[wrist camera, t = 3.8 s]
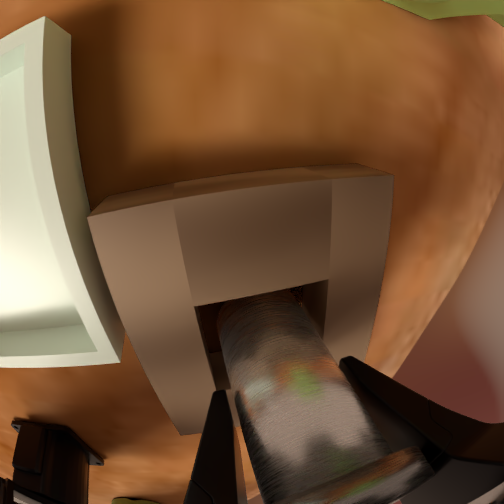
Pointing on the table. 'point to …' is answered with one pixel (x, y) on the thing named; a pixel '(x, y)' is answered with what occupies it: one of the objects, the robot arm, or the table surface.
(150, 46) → the table surface
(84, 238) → the tray
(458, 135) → the table surface
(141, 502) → the plant pot
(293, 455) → the spice jar
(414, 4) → the gearbox
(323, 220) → the block
